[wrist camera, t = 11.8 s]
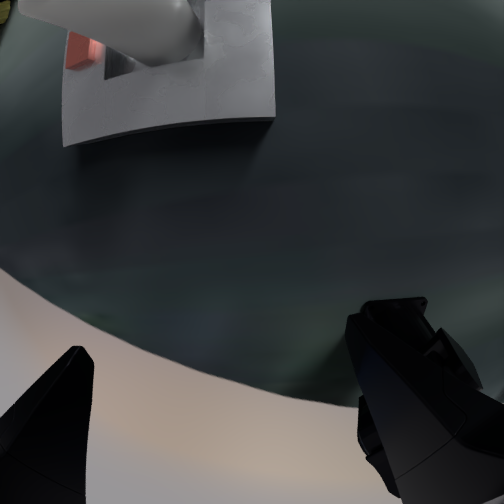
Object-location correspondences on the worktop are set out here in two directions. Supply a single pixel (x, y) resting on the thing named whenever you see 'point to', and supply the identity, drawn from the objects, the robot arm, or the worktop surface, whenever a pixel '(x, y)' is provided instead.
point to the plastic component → (4, 11)
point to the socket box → (173, 79)
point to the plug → (126, 25)
